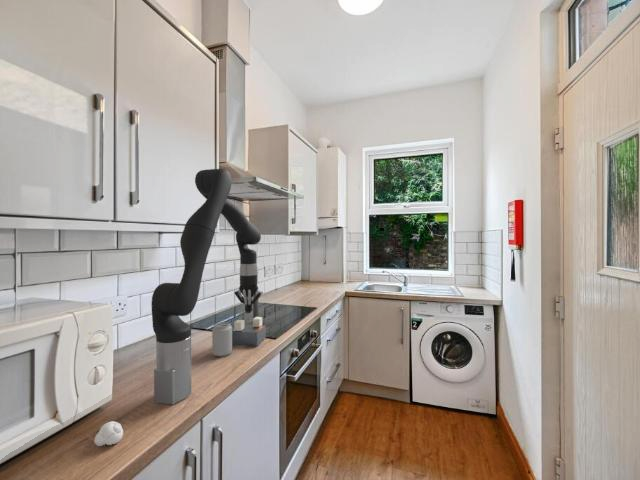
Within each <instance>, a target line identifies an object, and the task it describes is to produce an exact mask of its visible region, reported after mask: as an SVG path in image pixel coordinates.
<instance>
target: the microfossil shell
mask: <svg viewBox="0 0 640 480" xmlns="http://www.w3.org/2000/svg"><path fill="white" fill-rule="evenodd" d="M123 436H124V429H123V427H122V425H121V423H119V422H117V421H109V422H106V423H104V424H103V425H102V426H101V427H100V428H99V431H98V433H96V435H95V436H94V440H93V442H94V444H95V445H96V446H97V447H104V446H105V444H106V445H107V446H112V444H113V445H115V444H117V443H118V442H120V441H121V439H122V438H123ZM103 445H104V446H103Z"/></svg>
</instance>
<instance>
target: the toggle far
mask: <svg viewBox="0 0 640 480" xmlns="http://www.w3.org/2000/svg"><path fill="white" fill-rule="evenodd" d="M252 325H253V327H260V326H262V325H263V317H262V316H258V317H255V318H254V319H253V318H252Z"/></svg>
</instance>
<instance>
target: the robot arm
mask: <svg viewBox="0 0 640 480" xmlns="http://www.w3.org/2000/svg"><path fill="white" fill-rule="evenodd" d="M232 182H233V181H232V175H231V173H230V172H229V171H228V170H226V169H225V168H210V169H203V170H202V169H201V170H199V171H198V172H197V173H196V174H195V177H194V183H195V187H196V189H197V190H198V192H199V193H200V194H201V195H202V196H203V198H205V199H206V200H205V201H204V203H203V204H202V205H200V207H199V208H197V209H196V211H194V212H193V214H192V215H191V216H190V217H189V218H188V219H187V221H186V223H185V224H184V228H183V231H182V233H181V236H180V241H179V242H180V245H179V246H180V250H181V253H182V257H183V261H184V269H183V274H182V278H181V280H180V282H179V283H177V282H163V283H161V284H159V285H157V287H156V288H155V289H154V291H153V293H152V296H151V297H152V298H151V305H150V306H151V316H152V318H151V319H152V329H153V333H154V334H155V345H156V346H155V352H156V353H155V357H156V358H155V359H156V360H155V362H156V363H155V366H156V367H155V368H154V370H153V392H154V393H153V395H154V396H153V402H154V403H156V404H163V405H164V404H165V405H175V404H176V403H178V402H181V401H183V400H185V399H187V398H188V397H189V396H190V395H191V394H192V328H191V325H189V324H188V323H187V322H185V321H184V320H182V318H180V317H185V316H188V315H190V314H191V313H192V312H193V310H194V309H195V307H196V304H197V302H198V298H199V293H200V288H201V284H202V280H203V273H204V269H205V266H206V261H207V258H208V255H209V252H210V249H211V246H212V243H213V241H214V240H213V239H214V236H215V233H216V230H217V226H218V222H219V219H220V217H221V215H222V216H223V217H224V219H226V221H227V223H228V224H229V225H230V227H231V228H232V229H233V231H234V232H236V234H235V240H236V244H237V247H238V251H239V260H240V265H239V288H238V289H237V290H236V291H234V295H235V296H236V297H237V299H238V300H239V302H240V303H241V304H244V311H245V314H250V313H252V312H253V304H254V303H256V302H257V300H258V301H259V300H260V298H261V296H262V295H263V294H264V292H263V291H261V290H259V287H258V266H257V265H258V262H257V261H258V259H257V258H258V257H257V251H256V250H254V249H251V248H250V247H249V246H248V245H257V244H259V243H260V241H261V239H262V236H261V231H260V230H259V228H258V227H256V226H255V225H254V224H253V223H252V222H251V221H249V220H248V218H247V216H246V214H244V211H243V210H242V209H241V208H240V207H239V206H237V204H235V203H233V202H231V201H230V200H229V199H228V197H229V195H230V192H231V189H232ZM255 293H256V295H257V296H256V297H255V298H254V295H255ZM253 298H254V300H253Z"/></svg>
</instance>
